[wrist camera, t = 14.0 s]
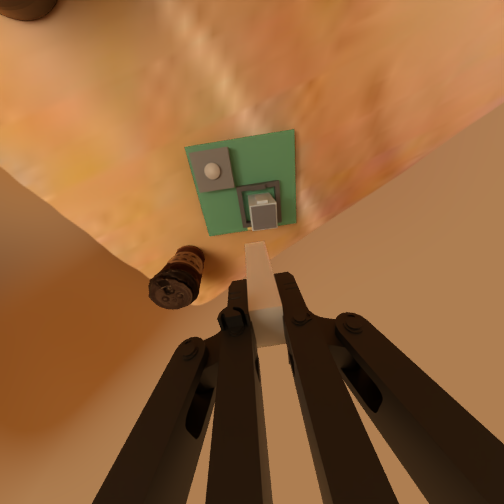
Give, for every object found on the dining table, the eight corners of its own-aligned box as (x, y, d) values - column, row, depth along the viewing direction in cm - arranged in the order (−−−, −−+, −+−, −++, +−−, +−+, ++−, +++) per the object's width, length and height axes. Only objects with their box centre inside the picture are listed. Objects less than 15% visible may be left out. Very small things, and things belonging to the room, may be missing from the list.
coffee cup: (176, 233, 38) (148, 267, 27) (213, 246, 40) (203, 283, 29) (168, 265, 42) (141, 307, 31) (203, 276, 44) (189, 318, 32)
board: (187, 147, 31) (178, 146, 26) (291, 130, 30) (299, 126, 26) (210, 232, 38) (207, 242, 34) (293, 219, 38) (300, 228, 34)
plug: (247, 192, 33) (249, 203, 26) (268, 190, 33) (276, 200, 26) (250, 215, 35) (252, 231, 28) (270, 213, 35) (277, 228, 28)
